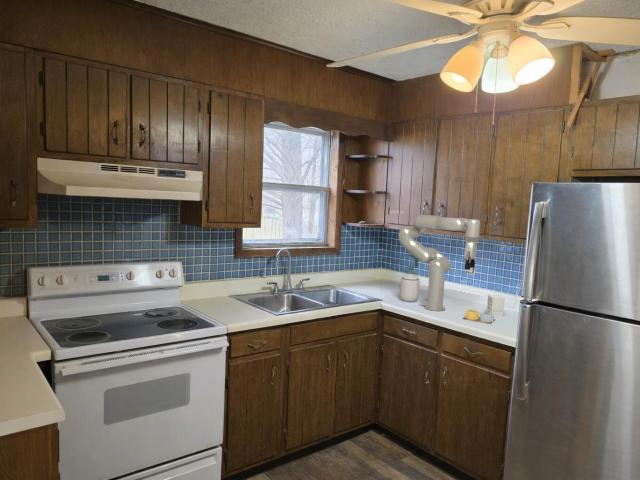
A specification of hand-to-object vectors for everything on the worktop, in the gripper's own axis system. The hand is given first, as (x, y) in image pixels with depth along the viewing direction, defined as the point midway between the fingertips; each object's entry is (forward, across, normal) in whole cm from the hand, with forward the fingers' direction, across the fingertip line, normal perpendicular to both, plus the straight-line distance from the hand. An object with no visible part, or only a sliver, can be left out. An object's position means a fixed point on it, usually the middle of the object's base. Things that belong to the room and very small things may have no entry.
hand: (469, 268), depth 279 cm
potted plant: (+28, -12, -41) cm, 51 cm away
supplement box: (+28, -8, +15) cm, 33 cm away
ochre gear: (+27, +10, +6) cm, 30 cm away
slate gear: (+27, +10, +14) cm, 32 cm away
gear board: (+28, +10, +10) cm, 32 cm away
